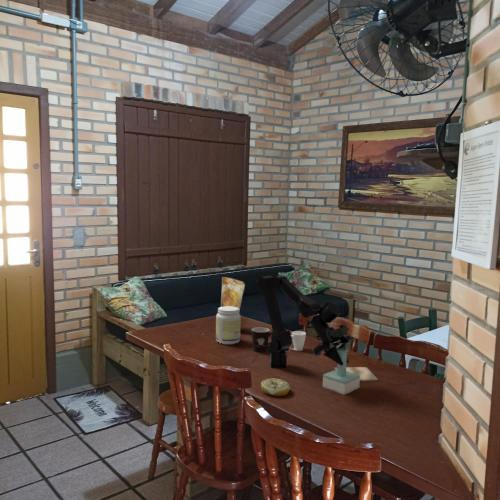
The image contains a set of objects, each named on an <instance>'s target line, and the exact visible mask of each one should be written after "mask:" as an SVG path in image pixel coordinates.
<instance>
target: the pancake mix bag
mask: <svg viewBox="0 0 500 500" xmlns="http://www.w3.org/2000/svg"><path fill="white" fill-rule="evenodd" d="M245 287H246V284H245V282H244V281H242V280H239V279H236V278H232V277H227V276H223V277H221V294H220V295H221V297H220V307H224V306H232V307H237V308H239V312H240V310H241V304H242V300H243V295H244V292H245Z"/></svg>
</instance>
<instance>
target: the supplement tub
mask: <svg viewBox="0 0 500 500" xmlns="http://www.w3.org/2000/svg"><path fill="white" fill-rule="evenodd" d="M241 320H242V319H241V314H240V311H239V308H237V307H232V306H224V307H221V306H220V307H218V308H217V313H216V316H215V341H216V343H218V342H219V344H221V343H222V345H235V343H236V344H238V343H239V342H240V340H241Z"/></svg>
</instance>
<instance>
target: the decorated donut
mask: <svg viewBox="0 0 500 500" xmlns="http://www.w3.org/2000/svg"><path fill="white" fill-rule="evenodd" d="M260 387H261V390H262V392H263V393H264V394H266V395H269V396H272V397H282V396H286V395H288V394H289V392H290V389H291V387H290V384H289V383H288V382H287V381H286V380H283V379H281V378H277V377H276V378H274V377H273V378H272V377H271V378H267V379H264V380H262V381H261V383H260Z"/></svg>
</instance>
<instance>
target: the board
mask: <svg viewBox="0 0 500 500" xmlns="http://www.w3.org/2000/svg"><path fill="white" fill-rule="evenodd" d="M336 369H337V366H336V367H335V366H334V370H336ZM346 371H347V372H350V373H353V374H356V375H360V382H377V381H378V380H379V379H378V378H377V377H376V376H375V375H374V374H373V373H372V371H370V369H369V368H368V367H366V366H364V367H362V366H356V367H355V366H348V367H347V366H346Z"/></svg>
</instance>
